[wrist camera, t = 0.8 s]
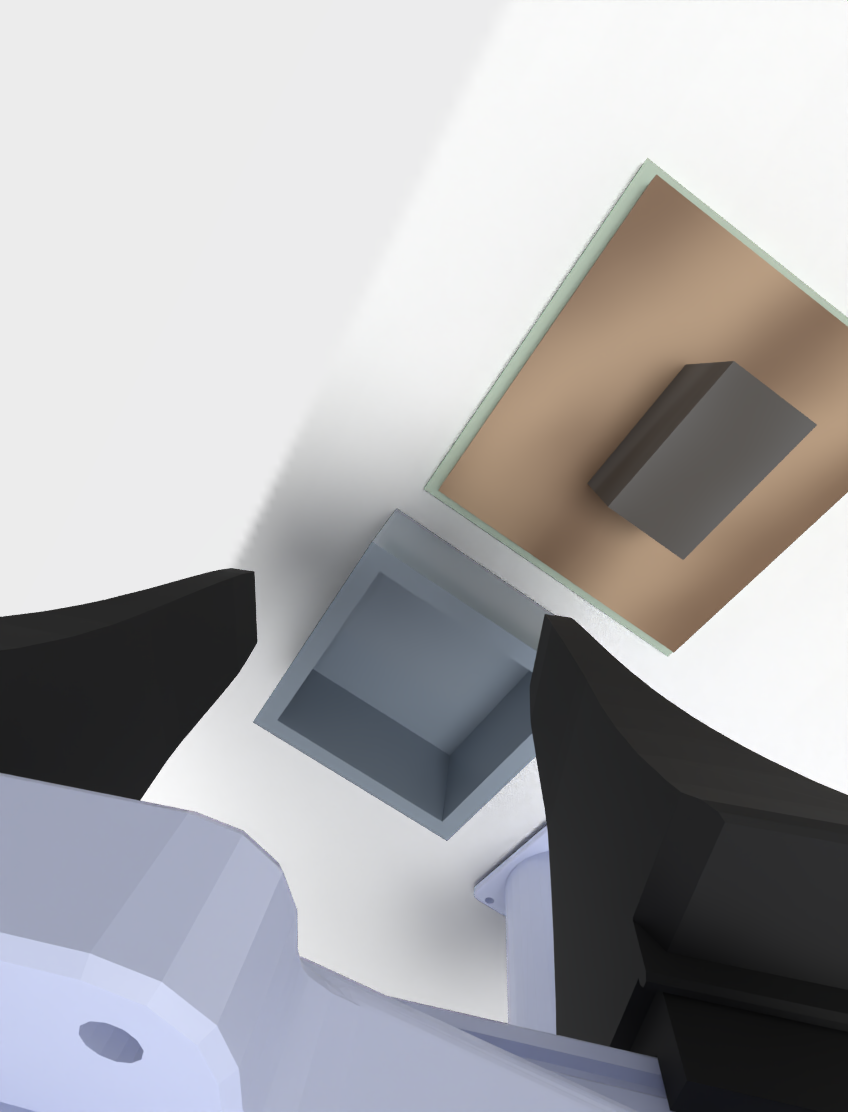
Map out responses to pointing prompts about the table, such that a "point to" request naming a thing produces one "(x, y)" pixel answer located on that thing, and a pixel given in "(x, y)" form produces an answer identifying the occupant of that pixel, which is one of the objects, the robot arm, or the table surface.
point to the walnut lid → (667, 423)
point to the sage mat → (539, 331)
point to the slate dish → (416, 680)
